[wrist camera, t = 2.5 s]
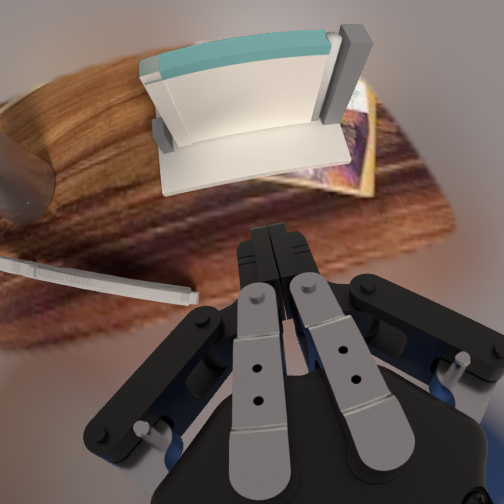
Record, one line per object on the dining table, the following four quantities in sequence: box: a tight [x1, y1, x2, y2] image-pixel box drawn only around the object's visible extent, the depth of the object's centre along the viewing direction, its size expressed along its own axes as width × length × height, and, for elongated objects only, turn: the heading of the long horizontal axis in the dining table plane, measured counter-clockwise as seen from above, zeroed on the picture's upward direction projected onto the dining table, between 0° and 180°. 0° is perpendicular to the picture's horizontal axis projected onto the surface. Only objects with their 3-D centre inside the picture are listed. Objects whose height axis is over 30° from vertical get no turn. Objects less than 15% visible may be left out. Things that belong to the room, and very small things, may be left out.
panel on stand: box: [152, 24, 374, 197], centre depth 27 cm, size 21×15×15 cm
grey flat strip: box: [0, 255, 199, 306], centre depth 31 cm, size 2×30×8 cm, turn 83°
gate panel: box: [139, 30, 342, 147], centre depth 26 cm, size 16×2×13 cm, turn 101°
